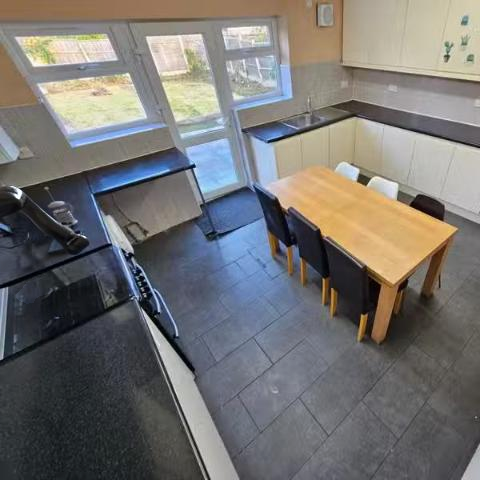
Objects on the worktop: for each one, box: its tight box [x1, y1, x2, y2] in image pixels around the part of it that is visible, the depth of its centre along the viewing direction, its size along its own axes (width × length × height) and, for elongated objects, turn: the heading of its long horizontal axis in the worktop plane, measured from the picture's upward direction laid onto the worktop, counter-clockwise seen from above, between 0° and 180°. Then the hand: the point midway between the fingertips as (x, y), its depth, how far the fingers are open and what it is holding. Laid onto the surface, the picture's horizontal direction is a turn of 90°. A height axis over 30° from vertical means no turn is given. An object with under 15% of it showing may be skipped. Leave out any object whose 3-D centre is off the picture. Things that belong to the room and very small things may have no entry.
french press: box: [43, 186, 79, 225], centre depth 168 cm, size 10×12×25 cm
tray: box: [46, 228, 86, 256], centre depth 158 cm, size 18×14×2 cm
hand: (52, 224), depth 152 cm, fingers closed on brush, 3 cm apart
